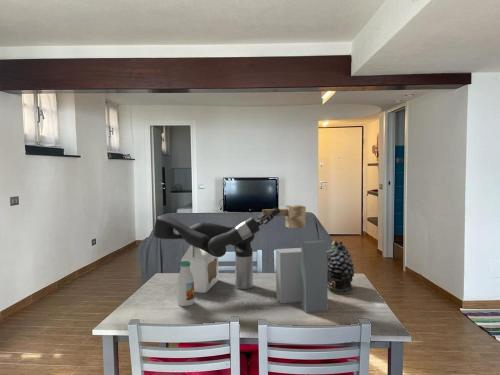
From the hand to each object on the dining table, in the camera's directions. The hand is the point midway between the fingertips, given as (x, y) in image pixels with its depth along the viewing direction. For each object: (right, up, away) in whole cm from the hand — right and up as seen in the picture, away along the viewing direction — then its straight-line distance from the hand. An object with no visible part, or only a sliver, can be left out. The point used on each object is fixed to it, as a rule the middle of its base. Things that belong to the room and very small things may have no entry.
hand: (278, 209), depth 164 cm
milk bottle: (-44, -45, +1) cm, 63 cm away
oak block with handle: (+2, -8, +1) cm, 9 cm away
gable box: (-40, -44, +27) cm, 65 cm away
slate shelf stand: (+10, -44, -1) cm, 45 cm away
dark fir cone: (+33, -43, +18) cm, 58 cm away
